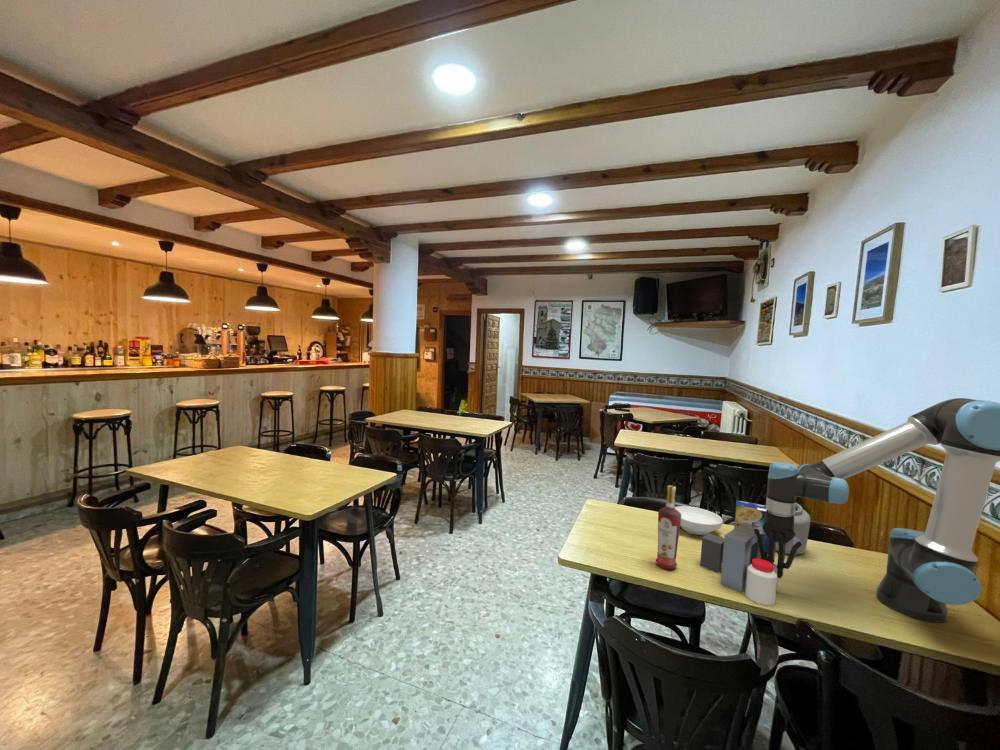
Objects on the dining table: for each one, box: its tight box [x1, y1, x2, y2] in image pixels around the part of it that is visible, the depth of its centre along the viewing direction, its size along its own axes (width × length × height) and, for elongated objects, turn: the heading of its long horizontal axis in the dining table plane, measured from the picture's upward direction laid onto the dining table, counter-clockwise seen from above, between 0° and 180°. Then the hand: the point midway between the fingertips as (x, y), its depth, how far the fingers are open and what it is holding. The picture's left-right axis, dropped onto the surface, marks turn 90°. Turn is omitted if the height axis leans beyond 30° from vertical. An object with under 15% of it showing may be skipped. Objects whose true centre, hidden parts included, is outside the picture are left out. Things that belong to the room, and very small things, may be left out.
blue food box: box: [733, 499, 769, 555], centre depth 142 cm, size 7×11×22 cm, turn 61°
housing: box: [720, 523, 764, 594], centre depth 134 cm, size 6×20×16 cm, turn 132°
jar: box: [775, 502, 811, 562], centre depth 156 cm, size 19×15×25 cm
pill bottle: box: [744, 558, 777, 607], centre depth 123 cm, size 8×8×11 cm
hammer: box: [699, 532, 724, 574], centre depth 135 cm, size 20×6×10 cm, turn 42°
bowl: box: [675, 505, 723, 536], centre depth 170 cm, size 20×20×7 cm
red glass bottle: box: [655, 484, 681, 570], centre depth 139 cm, size 7×7×28 cm
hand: (773, 585), depth 127 cm, fingers closed
